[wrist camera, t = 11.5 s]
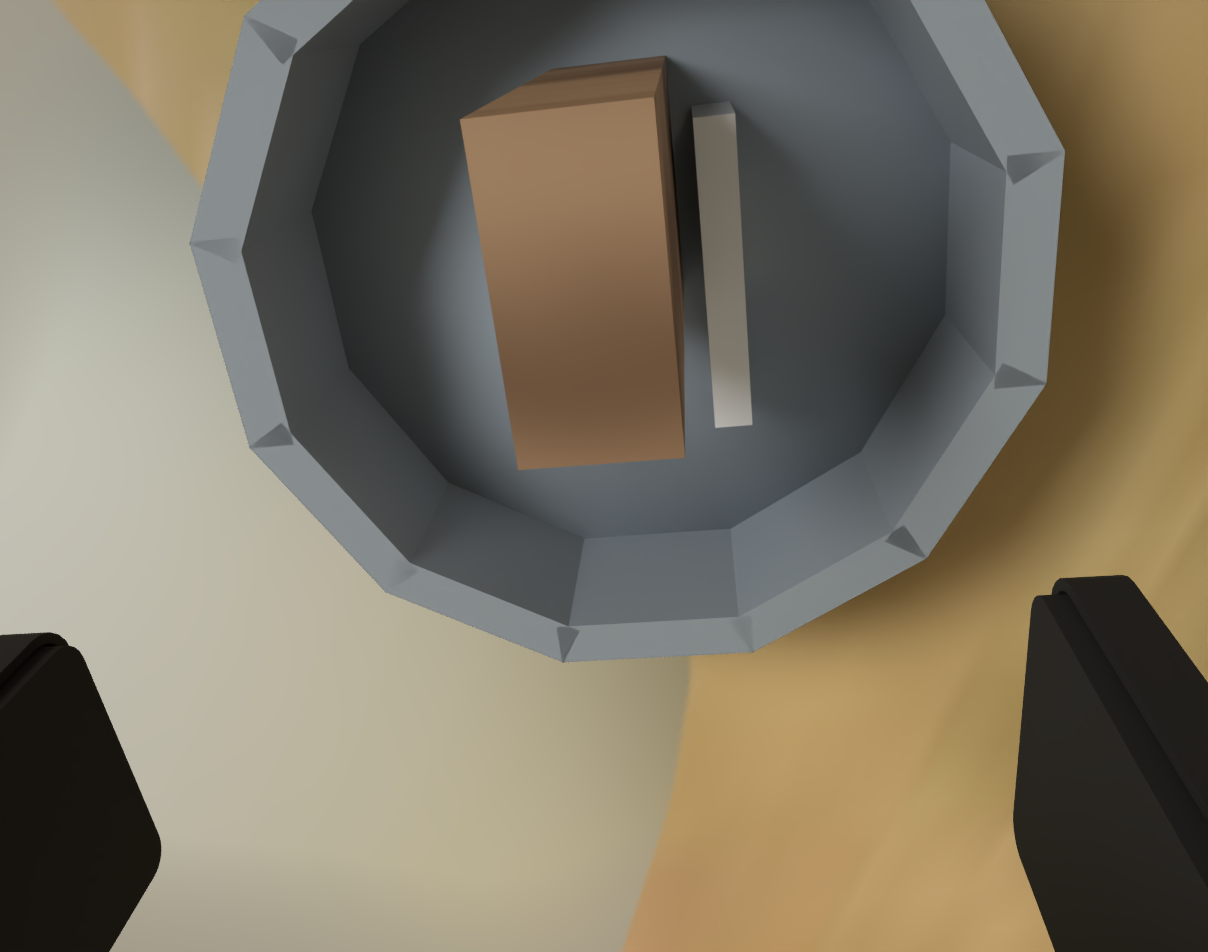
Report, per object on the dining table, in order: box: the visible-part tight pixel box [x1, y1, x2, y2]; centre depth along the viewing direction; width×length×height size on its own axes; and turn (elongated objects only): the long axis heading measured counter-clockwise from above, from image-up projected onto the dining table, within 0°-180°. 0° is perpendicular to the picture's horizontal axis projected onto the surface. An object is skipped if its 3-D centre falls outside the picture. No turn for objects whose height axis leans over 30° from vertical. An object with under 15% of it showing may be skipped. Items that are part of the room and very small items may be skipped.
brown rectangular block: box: [460, 55, 685, 470], centre depth 22 cm, size 6×3×12 cm, turn 6°
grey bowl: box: [190, 0, 1065, 662], centre depth 27 cm, size 20×20×6 cm
